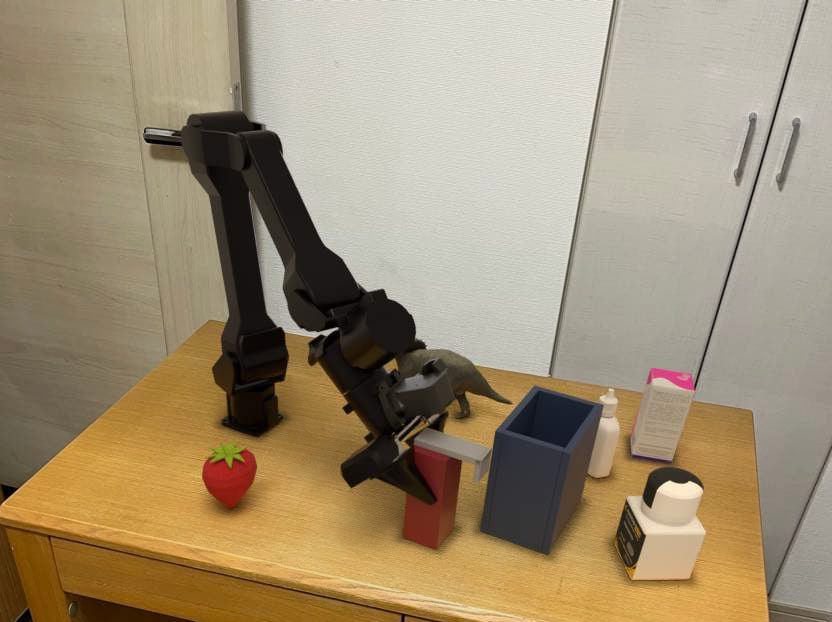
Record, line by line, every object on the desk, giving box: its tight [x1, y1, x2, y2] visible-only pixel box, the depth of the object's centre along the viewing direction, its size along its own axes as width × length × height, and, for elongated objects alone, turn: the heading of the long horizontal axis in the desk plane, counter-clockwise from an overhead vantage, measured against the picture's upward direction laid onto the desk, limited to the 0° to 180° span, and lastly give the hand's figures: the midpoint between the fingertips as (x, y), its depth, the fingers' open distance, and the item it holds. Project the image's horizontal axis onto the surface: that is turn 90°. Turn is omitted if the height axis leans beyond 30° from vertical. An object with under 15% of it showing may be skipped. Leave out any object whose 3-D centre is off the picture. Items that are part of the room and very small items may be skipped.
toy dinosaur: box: [394, 337, 514, 419], centre depth 117 cm, size 22×8×11 cm, turn 58°
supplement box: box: [629, 367, 696, 464], centre depth 111 cm, size 6×6×12 cm
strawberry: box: [201, 439, 258, 509], centre depth 96 cm, size 6×8×10 cm
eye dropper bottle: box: [587, 388, 621, 479], centre depth 107 cm, size 4×6×12 cm
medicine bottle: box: [613, 466, 707, 581], centre depth 92 cm, size 7×7×12 cm
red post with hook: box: [402, 427, 493, 551], centre depth 92 cm, size 8×5×13 cm, turn 63°
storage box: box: [479, 384, 604, 556], centre depth 97 cm, size 9×13×14 cm
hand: (443, 492), depth 93 cm, fingers closed on red post with hook, 5 cm apart
